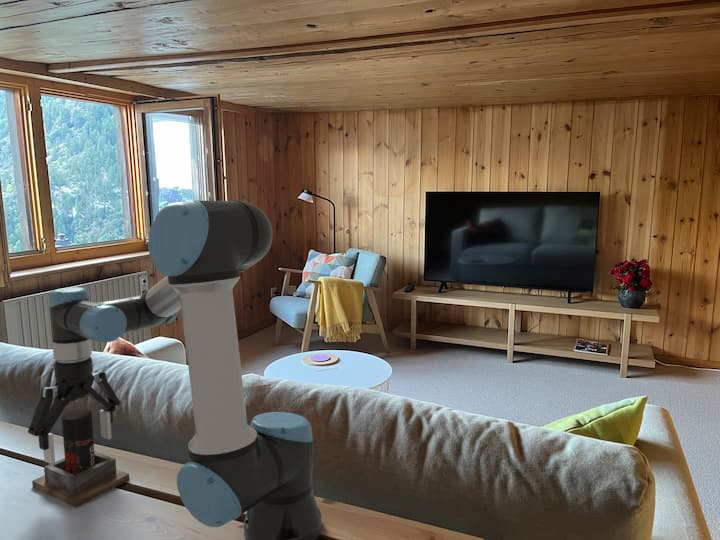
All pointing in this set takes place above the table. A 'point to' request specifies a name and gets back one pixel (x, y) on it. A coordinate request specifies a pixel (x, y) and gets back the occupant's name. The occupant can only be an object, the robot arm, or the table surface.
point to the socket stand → (80, 480)
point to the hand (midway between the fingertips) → (79, 449)
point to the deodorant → (78, 440)
